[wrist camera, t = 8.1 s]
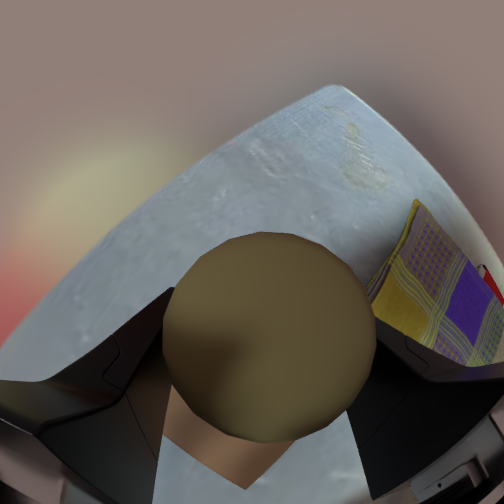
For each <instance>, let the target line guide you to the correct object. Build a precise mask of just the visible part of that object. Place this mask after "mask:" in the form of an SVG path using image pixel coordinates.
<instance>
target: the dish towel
mask: <svg viewBox="0 0 504 504" xmlns="http://www.w3.org/2000/svg"><path fill="white" fill-rule="evenodd" d="M365 290H366V292H367V295H368V298H369V301H370V304H371V306H372V309H373V312H374V315H375V316H376V317H377V318H379V319H381V320H382V321H384V322H386V323H387V324H389V325H391V326H392V327H394V328H396V329H397V330H399V331H401V332H402V333H404V335H407V336H409V337H411V338H412V339H414V340H416V341H417V342H419V343H421V344H422V345H424V346H426V347H428V348H430V349H432V350H434V351H435V352H437V353H439V354H441V355H443V356H445V357H447V358H449V359H451V360H453V361H455V362H457V363H459V364H461V365H464V366H470V367H476V366H483V365H489V364H491V363H492V361H493V359H494V356H495V354H496V351H497V348H498V344H499V342H500V338H501V336H502V332H503V330H504V309H503V307H502V305H501V303H500V301H499V300H498V298H497V297H496V295H495V294H494V293H493V292H492V290H491V289H490V287H489V286H488V284H487V283H486V282H485V281H484V280H483V278H482V277H481V276H480V275H479V274H478V272H477V271H476V269H475V268H474V266H473V265H472V264H471V262H470V261H469V259H468V258H467V257H466V256H465V255H464V254H463V253H462V251H461V250H460V249H459V248H458V247H457V245H456V244H455V243H454V242H453V240H452V239H451V238H450V237H449V236H448V235H447V234H446V233H445V232H444V231H443V229H442V227H441V226H440V225H439V224H438V223H437V222H436V221H435V220H434V218H433V216H432V215H431V213H430V212H429V211H428V209H427V208H426V207H425V206H424V205H423V204H422V203H421V202H419V201H418V200H417V199H415V200H414V202H413V204H412V209H411V211H410V213H409V216H408V219H407V222H406V224H405V227H404V229H403V231H402V234H401V236H400V239H399V241H398V243H397V245H396V247H395V249H394V250H393V251H392V253H391V254H390V255H389V257H388V258H387V260H386V261H385V262H384V264H383V265H382V266H381V268H380V269H379V271H378V272H377V273H376V275H375V276H374V278H373V279H372V280H371V281H370V283H369V284H368V285H367V287H366V288H365Z"/></svg>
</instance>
